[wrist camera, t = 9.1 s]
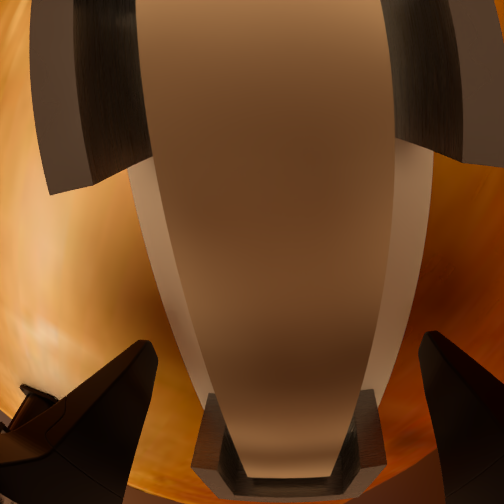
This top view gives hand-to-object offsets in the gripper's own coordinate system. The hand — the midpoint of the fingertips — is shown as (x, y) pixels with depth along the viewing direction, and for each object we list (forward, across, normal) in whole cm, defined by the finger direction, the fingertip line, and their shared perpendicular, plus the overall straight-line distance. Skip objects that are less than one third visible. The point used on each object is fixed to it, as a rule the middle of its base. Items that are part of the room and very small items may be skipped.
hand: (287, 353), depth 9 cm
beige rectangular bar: (+2, 0, 0) cm, 3 cm away
